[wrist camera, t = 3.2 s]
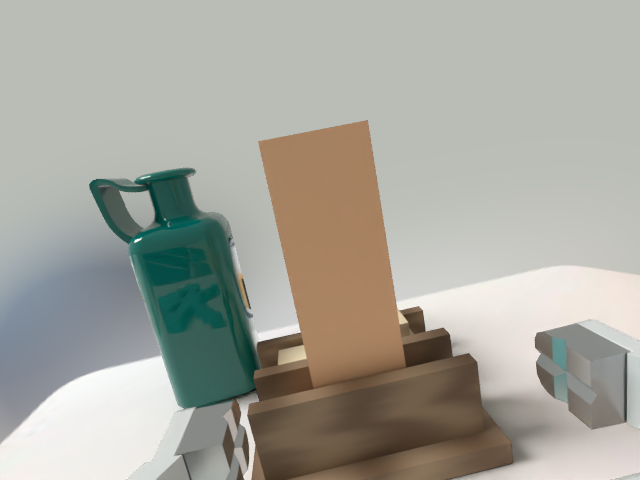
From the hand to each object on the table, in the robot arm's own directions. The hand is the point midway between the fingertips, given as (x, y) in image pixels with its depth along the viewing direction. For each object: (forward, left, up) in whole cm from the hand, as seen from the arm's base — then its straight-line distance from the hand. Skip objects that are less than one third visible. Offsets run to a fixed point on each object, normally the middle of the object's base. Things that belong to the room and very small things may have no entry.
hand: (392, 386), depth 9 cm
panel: (-2, -12, -12) cm, 17 cm away
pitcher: (+9, -27, -14) cm, 32 cm away
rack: (-3, -16, -14) cm, 21 cm away
